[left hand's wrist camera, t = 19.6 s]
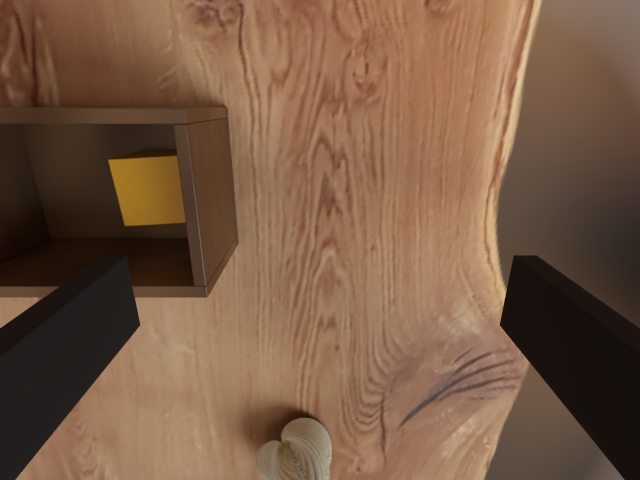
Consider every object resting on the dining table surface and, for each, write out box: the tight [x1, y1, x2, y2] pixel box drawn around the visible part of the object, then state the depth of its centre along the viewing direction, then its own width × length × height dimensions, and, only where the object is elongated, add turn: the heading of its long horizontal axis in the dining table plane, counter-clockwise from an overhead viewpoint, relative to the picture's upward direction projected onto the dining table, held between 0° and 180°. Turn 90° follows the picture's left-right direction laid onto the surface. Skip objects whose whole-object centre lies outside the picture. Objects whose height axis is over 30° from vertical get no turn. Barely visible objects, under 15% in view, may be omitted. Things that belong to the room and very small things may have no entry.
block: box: [108, 149, 186, 226], centre depth 28 cm, size 5×5×5 cm
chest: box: [0, 106, 238, 297], centre depth 27 cm, size 17×12×10 cm
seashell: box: [257, 418, 332, 480], centre depth 39 cm, size 8×8×8 cm
